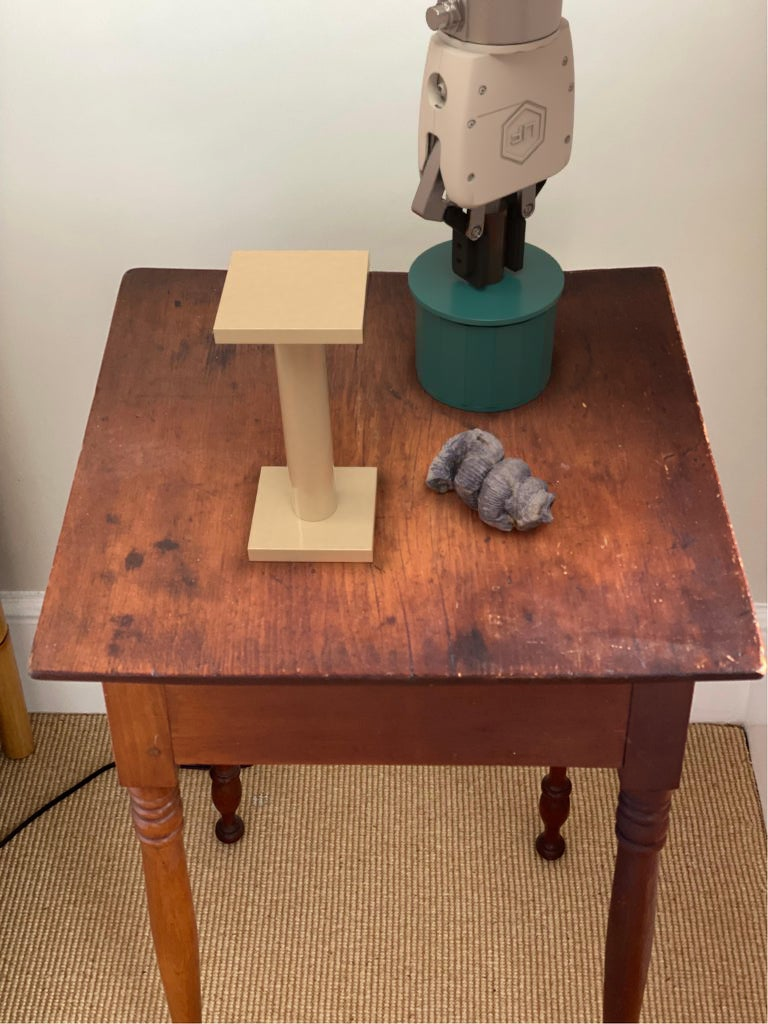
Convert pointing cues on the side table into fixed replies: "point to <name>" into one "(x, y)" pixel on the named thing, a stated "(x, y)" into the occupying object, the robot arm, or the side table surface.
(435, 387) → the pot
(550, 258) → the lid
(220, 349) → the side table surface
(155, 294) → the side table surface
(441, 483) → the seashell
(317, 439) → the pedestal
